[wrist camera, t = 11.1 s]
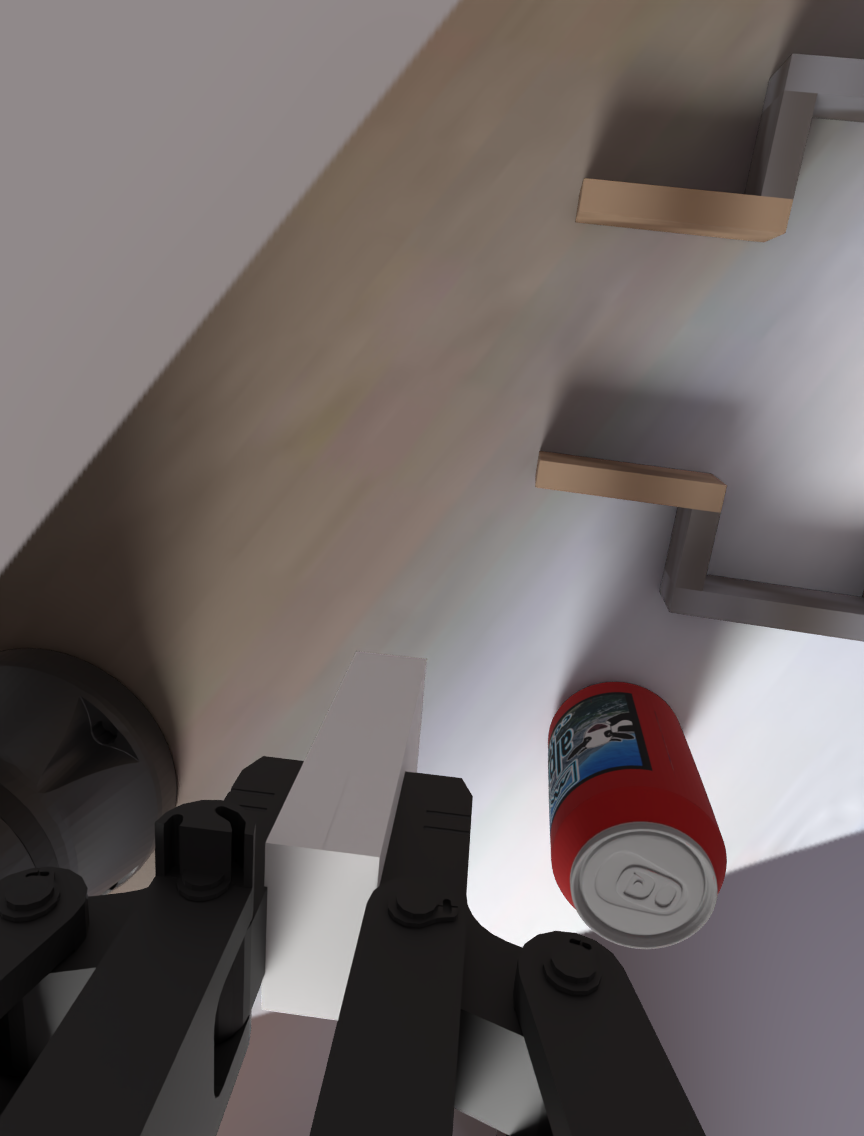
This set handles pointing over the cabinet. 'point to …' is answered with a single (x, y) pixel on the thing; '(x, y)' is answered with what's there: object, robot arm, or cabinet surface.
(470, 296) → the cabinet surface
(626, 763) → the beverage can
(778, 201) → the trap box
